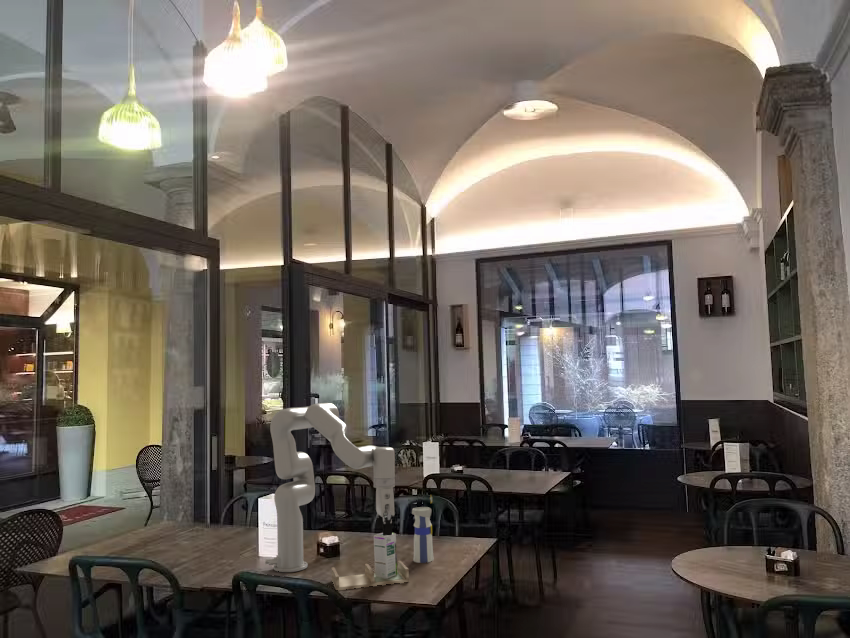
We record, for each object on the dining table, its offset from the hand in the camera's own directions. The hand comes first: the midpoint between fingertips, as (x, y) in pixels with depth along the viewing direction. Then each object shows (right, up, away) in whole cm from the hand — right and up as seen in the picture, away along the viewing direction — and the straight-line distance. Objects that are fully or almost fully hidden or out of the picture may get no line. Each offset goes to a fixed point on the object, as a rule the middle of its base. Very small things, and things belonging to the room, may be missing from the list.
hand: (384, 531), depth 237 cm
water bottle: (+14, -18, +23) cm, 32 cm away
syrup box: (+1, -15, -1) cm, 15 cm away
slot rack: (-5, -16, -3) cm, 17 cm away
